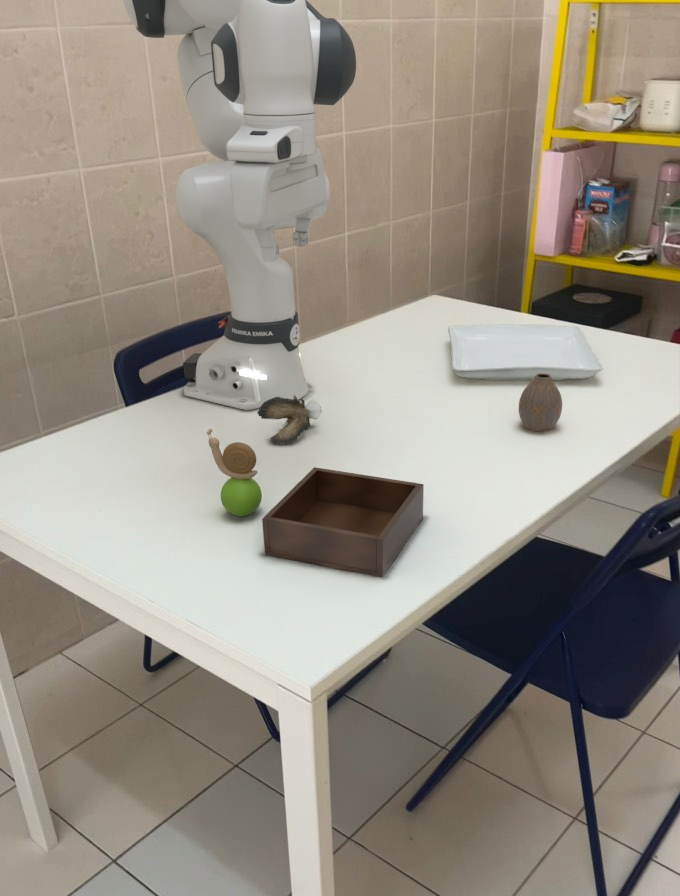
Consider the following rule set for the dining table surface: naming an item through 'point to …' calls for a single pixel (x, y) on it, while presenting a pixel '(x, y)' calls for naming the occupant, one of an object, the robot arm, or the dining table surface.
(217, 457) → the snail figurine
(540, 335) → the square plate
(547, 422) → the vase
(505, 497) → the dining table surface
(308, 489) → the crate
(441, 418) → the dining table surface
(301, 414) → the eagle figurine
